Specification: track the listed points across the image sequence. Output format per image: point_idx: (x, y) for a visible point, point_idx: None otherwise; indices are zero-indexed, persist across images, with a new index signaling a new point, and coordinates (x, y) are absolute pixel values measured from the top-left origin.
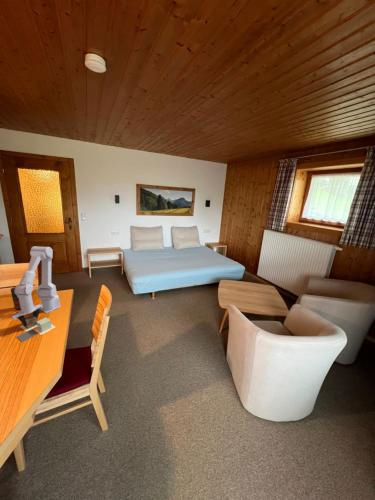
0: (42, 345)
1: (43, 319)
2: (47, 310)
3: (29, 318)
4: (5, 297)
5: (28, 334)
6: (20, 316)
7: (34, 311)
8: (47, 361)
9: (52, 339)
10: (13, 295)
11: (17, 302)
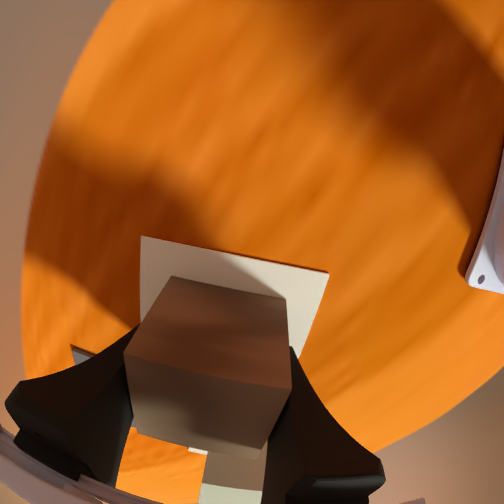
0: (153, 473)
1: (257, 496)
2: (498, 267)
3: (194, 423)
4: None
5: None
6: (54, 475)
7: None
8: (134, 491)
9: (201, 484)
10: None
11: None
